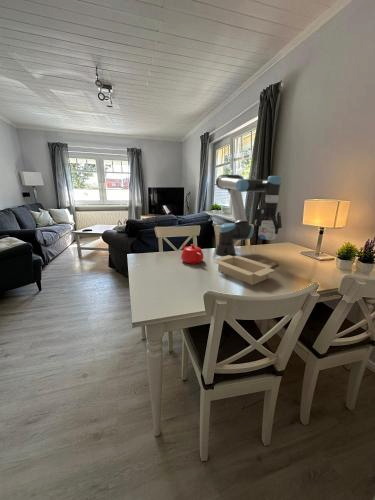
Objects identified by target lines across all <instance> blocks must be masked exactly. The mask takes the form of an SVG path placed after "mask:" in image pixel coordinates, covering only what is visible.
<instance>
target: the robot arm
mask: <svg viewBox="0 0 375 500" xmlns="http://www.w3.org/2000/svg"><path fill="white" fill-rule="evenodd" d="M281 181H282V177H281V176H280V175H269V176H268V177H267V179H249V178H248V179H247V178H244V177H243V175H241V174H228V173H227V174H225V173H224V174H221V175H219V176H218V177H216V179H215V185H216V187H217V188H218V189H220V190H227V191H228V192H227V193H228V194H229V195H230V198H231V205H232V211H233V215H234V216H233V217H234V223H233V222H226V223H222V224H220V225H219V231H218V232H219V233H218V244H217V247H216V249H215V254H216V255H218V256H219V257H223V256H227V255H230V256H233V257H234V256H236V248H235V241H247V240H250V239H251V238H252V237H253V236H254V230H255V229H254V226H253V225H252V224H250V221H249V220H247V216H246V210H245V209H246V208H245V205H244V199H243V194H242V193H245V192H247V193H249V192H252V193H253V192H255V193H264V192H265V198H264V199H265V203H264V209H260V210H259V212H258V213H259V214H258V216H257V219H256V222H255V225H256V226H257V231H258V233H257V234H258V237H260V231H261V223H262V221H263V220H266V219H267V218H271V221H273V224H274V226H275V229H274V231H273V238H272V239H273V240H275V239H277V235H278V233H279V229H281V228H283V225H282V212H281V211H278V210H277V209H278V204H279V203H278V202H279V199H280V198H279V196H280V190H281V184H282V183H281Z"/></svg>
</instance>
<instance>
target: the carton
mask: <svg viewBox="0 0 375 500" xmlns="http://www.w3.org/2000/svg"><path fill="white" fill-rule="evenodd" d="M213 260H214V261H213V262H214V263H215V264H217V265H218V267H217V270H218V272H220V271H221V272H220V273H222V272H223V274H225V275H227V276H230V277H232V278H234V279H236V280H239V281H240V282H241V281H242V282H244V283H246V284H249V285H251V286H253V285H256V284H258V283H260V282H262V281H265V280H267V279H268V275H269V274H271V273H273V272H275V269H273V268H271V267H272V266H269V265H266V264H263V263H260V262H257V261H254V259H250V258H246V257H243V256H240V255H234V256H230V255H227V256H219V257H216V258H214V259H213ZM270 268H271V269H270Z"/></svg>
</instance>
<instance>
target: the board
mask: <svg viewBox="0 0 375 500" xmlns="http://www.w3.org/2000/svg"><path fill="white" fill-rule="evenodd" d="M253 261H257V262H260V263H263V264H266V265H269V266H272V267H271V268H270V269H273V268H275V267H278V266H279V263H277V262H273V261H269V260H266V259H264V258H257V259H253Z"/></svg>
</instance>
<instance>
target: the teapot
mask: <svg viewBox="0 0 375 500" xmlns="http://www.w3.org/2000/svg"><path fill="white" fill-rule="evenodd" d="M182 247H183V250H182V252H181V256H180V258H181V260H182V261H183V262H184V263H185V264H188V263H190V264H189V265H196V264H195V263H197V264H199V263H201V262H202V261H203V260H204V253H203V251H202V248H201V247H199V246H195V244H194V243H192V244H190V246H189V245H188V246H186V244H185V243H183V244H182Z"/></svg>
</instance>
